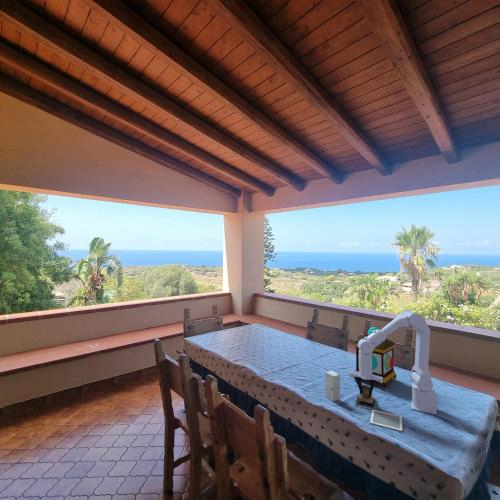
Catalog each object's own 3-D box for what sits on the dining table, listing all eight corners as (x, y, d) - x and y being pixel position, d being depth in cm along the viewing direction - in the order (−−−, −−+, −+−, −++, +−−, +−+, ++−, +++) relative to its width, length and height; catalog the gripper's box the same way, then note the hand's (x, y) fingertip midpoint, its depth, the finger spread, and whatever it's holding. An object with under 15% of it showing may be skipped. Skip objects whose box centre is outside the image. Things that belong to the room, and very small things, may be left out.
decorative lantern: (400, 380, 158) (399, 327, 160) (387, 391, 145) (386, 333, 146) (365, 370, 173) (364, 321, 174) (350, 379, 159) (349, 326, 160)
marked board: (402, 417, 121) (402, 415, 121) (402, 432, 110) (402, 430, 110) (372, 410, 126) (372, 409, 126) (369, 423, 116) (369, 422, 116)
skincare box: (324, 396, 139) (324, 371, 140) (332, 394, 141) (331, 370, 142) (333, 401, 134) (333, 376, 134) (340, 400, 136) (340, 374, 136)
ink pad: (376, 401, 134) (376, 399, 134) (375, 410, 126) (375, 407, 126) (357, 397, 138) (357, 394, 138) (354, 405, 130) (354, 402, 130)
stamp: (373, 398, 133) (373, 385, 134) (372, 403, 128) (372, 390, 128) (360, 395, 136) (360, 382, 137) (358, 400, 131) (358, 387, 131)
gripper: (348, 365, 133) (348, 394, 132) (381, 371, 126) (382, 402, 125) (350, 360, 139) (350, 388, 138) (382, 366, 132) (383, 395, 132)
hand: (365, 394), depth 132 cm, fingers closed on stamp, 4 cm apart
